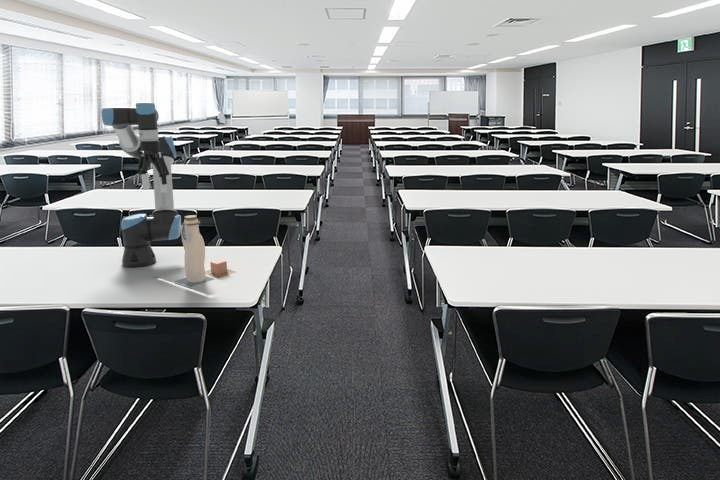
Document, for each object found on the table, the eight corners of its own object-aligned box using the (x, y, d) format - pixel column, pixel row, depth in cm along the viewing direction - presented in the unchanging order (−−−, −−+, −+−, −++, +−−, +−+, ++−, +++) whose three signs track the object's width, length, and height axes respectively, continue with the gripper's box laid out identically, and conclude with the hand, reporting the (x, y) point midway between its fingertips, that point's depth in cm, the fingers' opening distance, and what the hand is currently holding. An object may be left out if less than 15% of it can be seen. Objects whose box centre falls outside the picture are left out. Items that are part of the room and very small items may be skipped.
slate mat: (174, 283, 224) (174, 281, 224) (198, 275, 233) (198, 273, 233) (191, 289, 217) (191, 286, 217) (214, 281, 226) (214, 278, 226)
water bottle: (200, 284, 219) (193, 219, 211) (180, 283, 220) (173, 219, 213) (211, 276, 228) (205, 214, 221) (192, 275, 230) (186, 213, 223)
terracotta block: (211, 272, 234) (210, 261, 233) (220, 269, 238) (219, 259, 237) (218, 274, 231) (217, 263, 230) (227, 271, 235) (226, 261, 234)
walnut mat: (201, 274, 235) (201, 272, 234) (220, 268, 242) (219, 266, 242) (218, 279, 227) (218, 277, 227) (236, 273, 235) (236, 271, 235)
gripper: (125, 139, 222) (131, 188, 228) (157, 142, 207) (163, 194, 213) (141, 138, 228) (147, 186, 233) (174, 140, 213) (179, 192, 219)
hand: (155, 190), depth 223 cm, fingers open, 13 cm apart
